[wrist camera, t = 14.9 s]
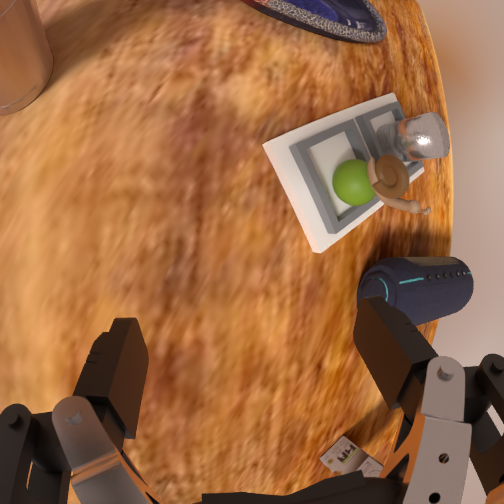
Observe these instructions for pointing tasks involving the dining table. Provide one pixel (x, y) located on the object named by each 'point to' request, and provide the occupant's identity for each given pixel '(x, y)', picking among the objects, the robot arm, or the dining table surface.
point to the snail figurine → (374, 183)
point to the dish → (328, 17)
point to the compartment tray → (332, 166)
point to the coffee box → (350, 459)
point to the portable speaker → (419, 286)
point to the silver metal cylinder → (415, 138)
